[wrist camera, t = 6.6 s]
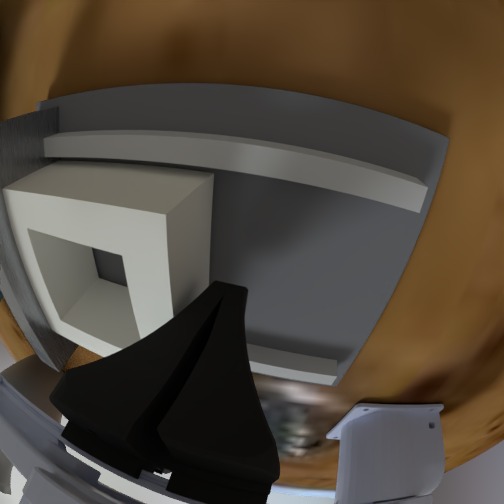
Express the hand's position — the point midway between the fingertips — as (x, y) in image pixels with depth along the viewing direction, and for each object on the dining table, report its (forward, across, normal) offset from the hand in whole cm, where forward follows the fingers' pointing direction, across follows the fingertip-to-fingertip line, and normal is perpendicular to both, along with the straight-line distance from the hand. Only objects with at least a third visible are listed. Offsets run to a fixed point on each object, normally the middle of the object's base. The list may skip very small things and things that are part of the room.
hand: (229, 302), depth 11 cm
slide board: (+3, +3, 0) cm, 4 cm away
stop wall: (+2, +11, 0) cm, 12 cm away
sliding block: (+2, +6, 0) cm, 6 cm away
